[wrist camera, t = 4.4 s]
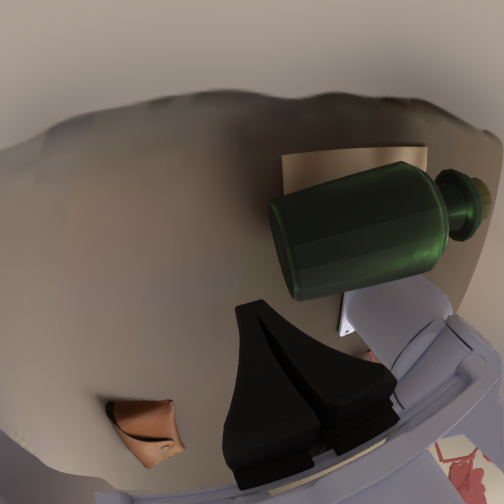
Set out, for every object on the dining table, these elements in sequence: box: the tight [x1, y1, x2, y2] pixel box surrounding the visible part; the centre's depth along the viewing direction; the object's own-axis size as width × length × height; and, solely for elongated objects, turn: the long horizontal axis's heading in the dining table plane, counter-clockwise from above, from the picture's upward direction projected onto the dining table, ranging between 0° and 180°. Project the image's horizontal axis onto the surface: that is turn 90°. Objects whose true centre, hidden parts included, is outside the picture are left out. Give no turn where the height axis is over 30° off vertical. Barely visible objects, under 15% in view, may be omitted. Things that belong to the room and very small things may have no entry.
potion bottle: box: [268, 161, 492, 301], centre depth 17 cm, size 8×8×18 cm
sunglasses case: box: [105, 400, 185, 469], centre depth 28 cm, size 18×7×7 cm
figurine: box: [369, 351, 493, 504], centre depth 25 cm, size 15×26×35 cm, turn 79°
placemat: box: [281, 147, 428, 195], centre depth 22 cm, size 16×11×1 cm
